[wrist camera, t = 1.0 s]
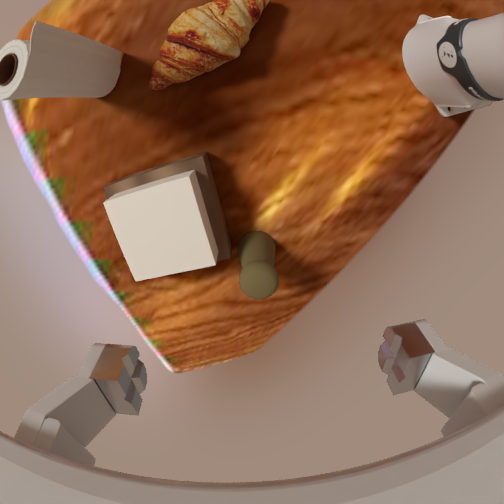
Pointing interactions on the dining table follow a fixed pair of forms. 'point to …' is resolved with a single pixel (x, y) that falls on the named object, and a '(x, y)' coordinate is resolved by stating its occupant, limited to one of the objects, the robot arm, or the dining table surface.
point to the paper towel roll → (57, 66)
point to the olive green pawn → (258, 265)
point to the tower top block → (163, 227)
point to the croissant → (204, 40)
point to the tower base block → (206, 186)
